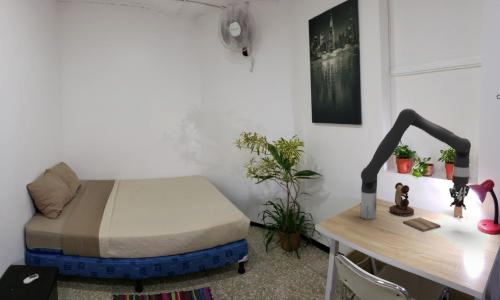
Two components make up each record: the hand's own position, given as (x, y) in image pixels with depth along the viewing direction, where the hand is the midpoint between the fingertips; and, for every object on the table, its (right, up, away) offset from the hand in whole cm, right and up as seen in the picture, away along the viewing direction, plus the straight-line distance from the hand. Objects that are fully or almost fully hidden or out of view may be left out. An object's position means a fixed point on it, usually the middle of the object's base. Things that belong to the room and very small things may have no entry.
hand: (458, 204), depth 167 cm
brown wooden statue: (-16, -12, +32) cm, 38 cm away
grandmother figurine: (0, -8, +1) cm, 8 cm away
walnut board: (-14, -15, +12) cm, 24 cm away
